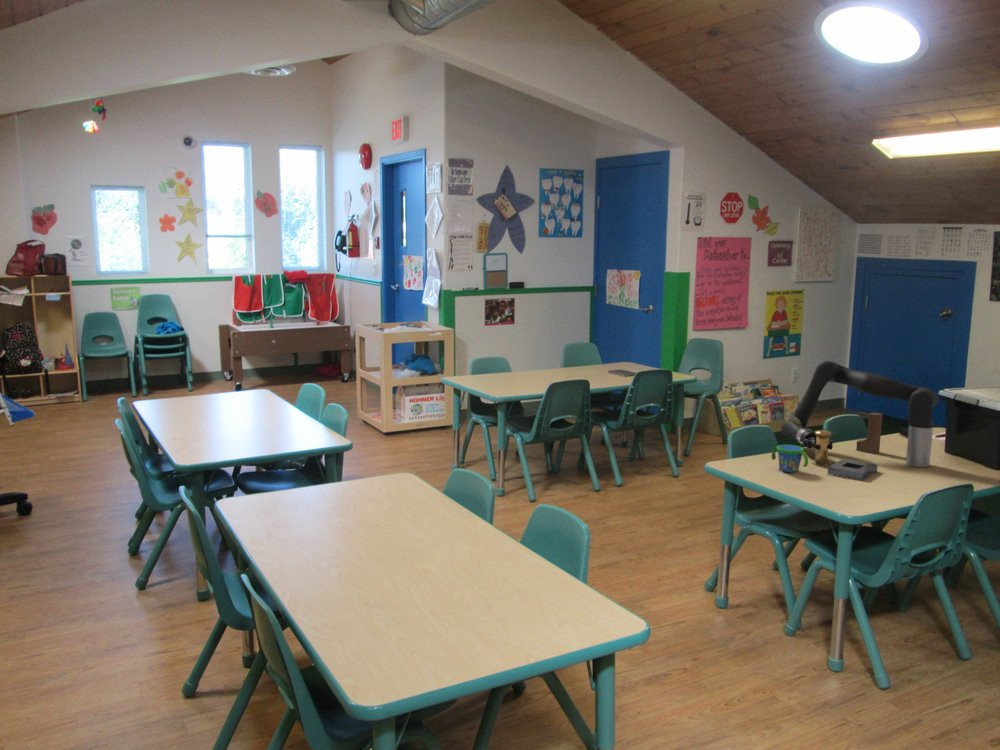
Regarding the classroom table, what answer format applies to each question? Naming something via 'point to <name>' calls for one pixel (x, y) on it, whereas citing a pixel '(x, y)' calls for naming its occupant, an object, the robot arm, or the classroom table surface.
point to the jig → (852, 469)
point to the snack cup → (789, 457)
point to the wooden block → (872, 435)
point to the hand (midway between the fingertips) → (824, 447)
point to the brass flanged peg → (822, 446)
